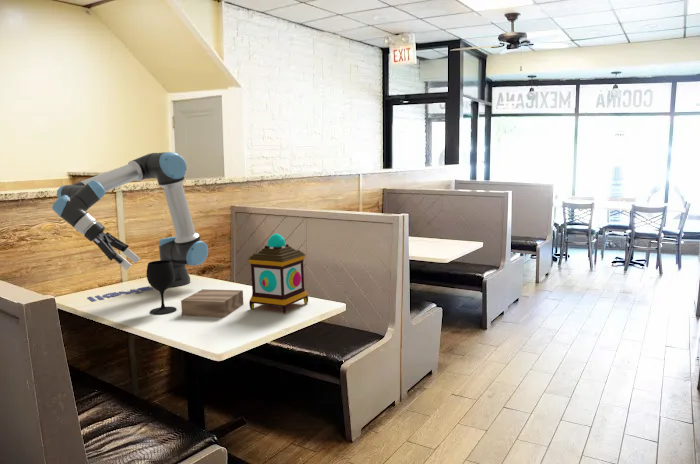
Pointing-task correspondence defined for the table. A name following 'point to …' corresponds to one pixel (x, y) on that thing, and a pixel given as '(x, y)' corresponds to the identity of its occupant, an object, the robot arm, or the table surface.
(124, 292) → the signage
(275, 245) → the decorative lantern
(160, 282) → the wine glass
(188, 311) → the walnut block
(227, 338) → the table surface
